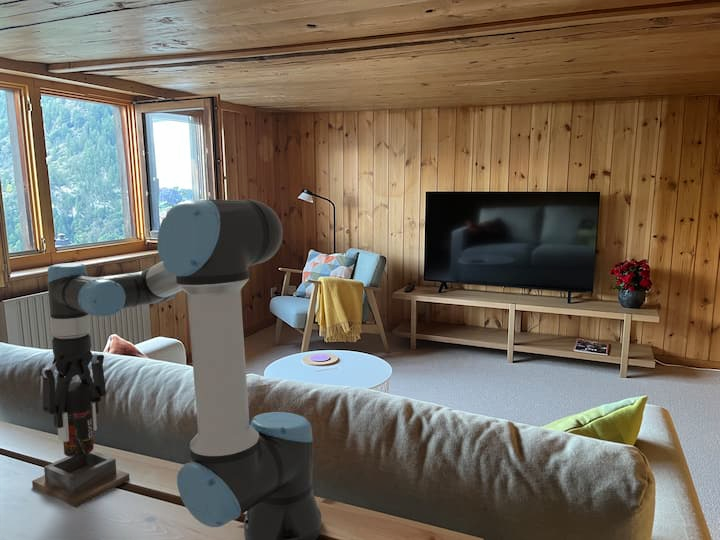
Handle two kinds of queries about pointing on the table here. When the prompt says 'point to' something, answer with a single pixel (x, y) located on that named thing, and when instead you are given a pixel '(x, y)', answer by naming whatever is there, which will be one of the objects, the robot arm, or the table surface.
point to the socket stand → (80, 478)
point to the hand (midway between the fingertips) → (78, 434)
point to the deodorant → (79, 420)
